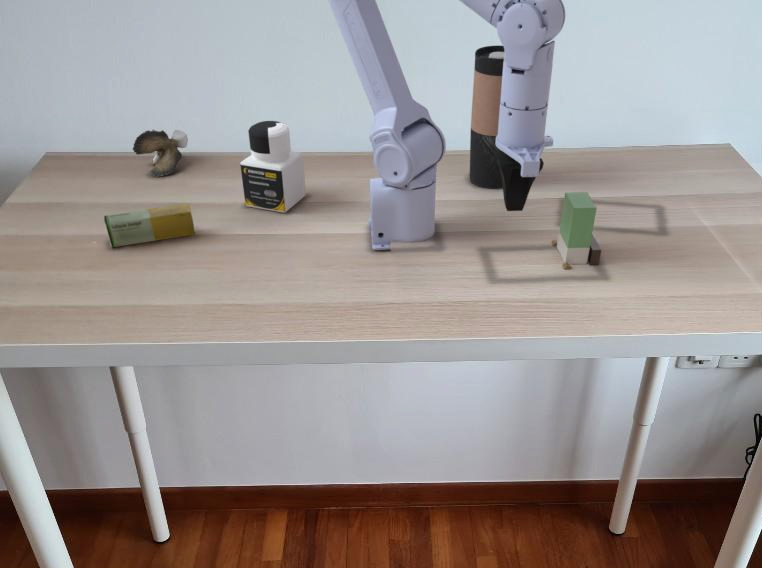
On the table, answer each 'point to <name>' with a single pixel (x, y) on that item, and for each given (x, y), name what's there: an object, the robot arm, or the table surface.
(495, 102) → the travel mug
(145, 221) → the medication box
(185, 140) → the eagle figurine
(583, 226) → the block
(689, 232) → the table surface
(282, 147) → the medicine bottle
